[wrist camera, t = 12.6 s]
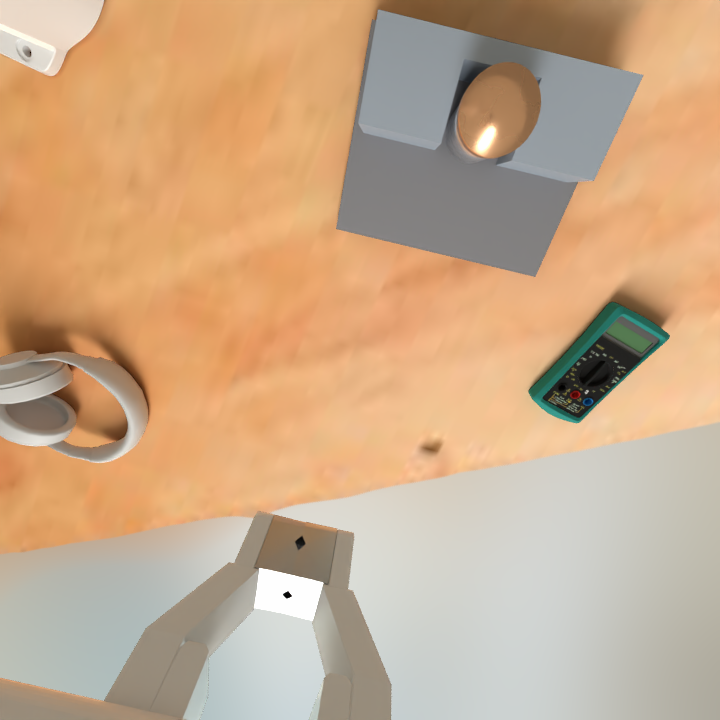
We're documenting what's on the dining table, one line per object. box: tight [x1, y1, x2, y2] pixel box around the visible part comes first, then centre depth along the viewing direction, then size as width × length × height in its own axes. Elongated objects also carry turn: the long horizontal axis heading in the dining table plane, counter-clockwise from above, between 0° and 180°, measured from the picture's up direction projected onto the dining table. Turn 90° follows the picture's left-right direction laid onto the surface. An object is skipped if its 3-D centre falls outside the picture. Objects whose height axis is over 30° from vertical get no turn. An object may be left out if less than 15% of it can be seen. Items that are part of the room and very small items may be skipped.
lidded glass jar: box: [446, 62, 541, 164], centre depth 27 cm, size 5×5×9 cm
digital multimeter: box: [529, 302, 670, 423], centre depth 41 cm, size 7×15×3 cm, turn 153°
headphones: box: [0, 351, 148, 463], centre depth 49 cm, size 18×8×20 cm
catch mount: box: [336, 9, 643, 277], centre depth 31 cm, size 22×17×6 cm
